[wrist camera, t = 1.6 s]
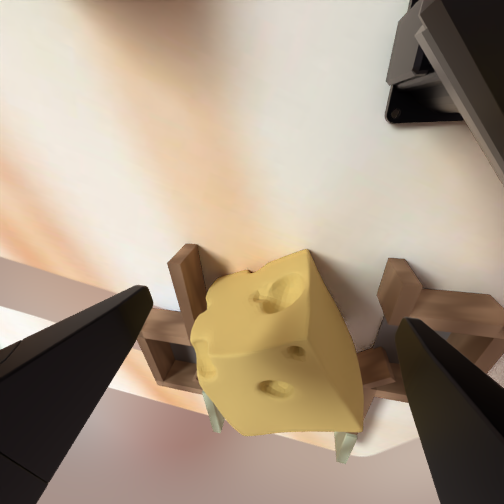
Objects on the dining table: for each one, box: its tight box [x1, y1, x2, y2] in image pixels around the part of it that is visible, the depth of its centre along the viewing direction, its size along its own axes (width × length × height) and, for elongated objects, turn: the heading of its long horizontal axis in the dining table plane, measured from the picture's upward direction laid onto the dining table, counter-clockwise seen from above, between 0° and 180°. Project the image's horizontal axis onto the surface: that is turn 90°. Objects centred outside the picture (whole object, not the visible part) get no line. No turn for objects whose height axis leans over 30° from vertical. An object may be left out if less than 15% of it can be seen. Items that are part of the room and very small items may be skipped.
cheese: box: [190, 249, 364, 436], centre depth 19 cm, size 10×11×10 cm
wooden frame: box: [137, 244, 504, 464], centre depth 27 cm, size 33×31×4 cm
